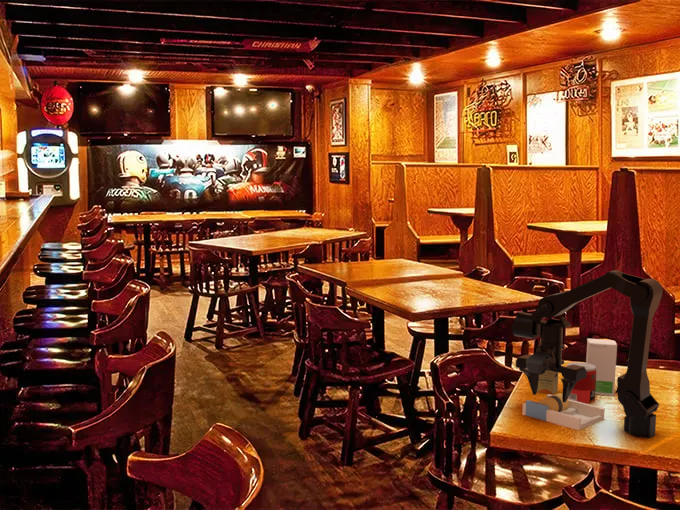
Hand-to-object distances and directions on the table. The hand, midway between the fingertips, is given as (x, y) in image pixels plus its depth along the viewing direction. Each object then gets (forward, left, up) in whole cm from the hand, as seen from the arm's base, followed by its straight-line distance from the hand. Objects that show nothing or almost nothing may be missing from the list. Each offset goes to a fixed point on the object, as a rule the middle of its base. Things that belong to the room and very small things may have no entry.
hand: (549, 398), depth 207 cm
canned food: (+1, -17, -5) cm, 18 cm away
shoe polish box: (+12, -17, -5) cm, 21 cm away
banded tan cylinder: (0, 0, -4) cm, 4 cm away
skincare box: (+3, -31, -5) cm, 32 cm away
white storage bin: (-4, 0, -5) cm, 7 cm away
